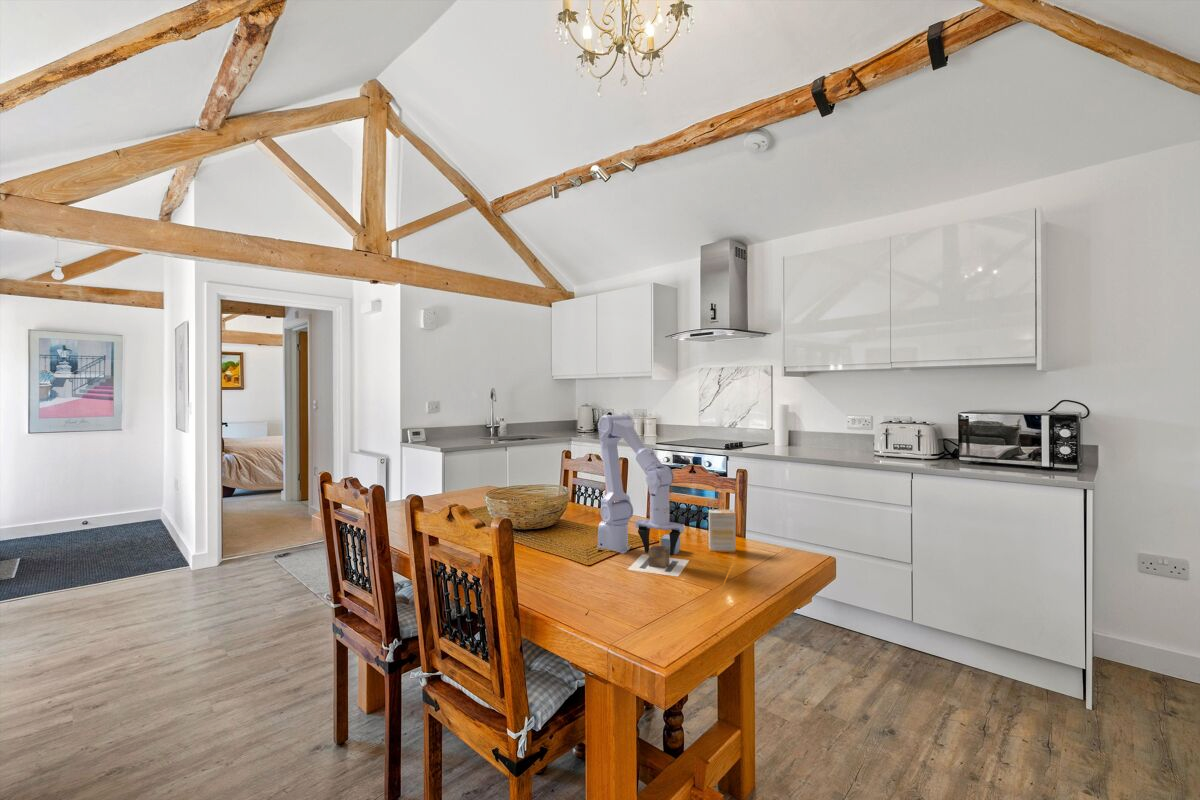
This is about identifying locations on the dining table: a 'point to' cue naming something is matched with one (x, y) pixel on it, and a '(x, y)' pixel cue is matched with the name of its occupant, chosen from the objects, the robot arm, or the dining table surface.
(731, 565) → the dining table surface
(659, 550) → the walnut block
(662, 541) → the slate blue cube
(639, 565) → the letter board
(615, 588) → the dining table surface
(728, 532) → the supplement box
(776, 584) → the dining table surface
